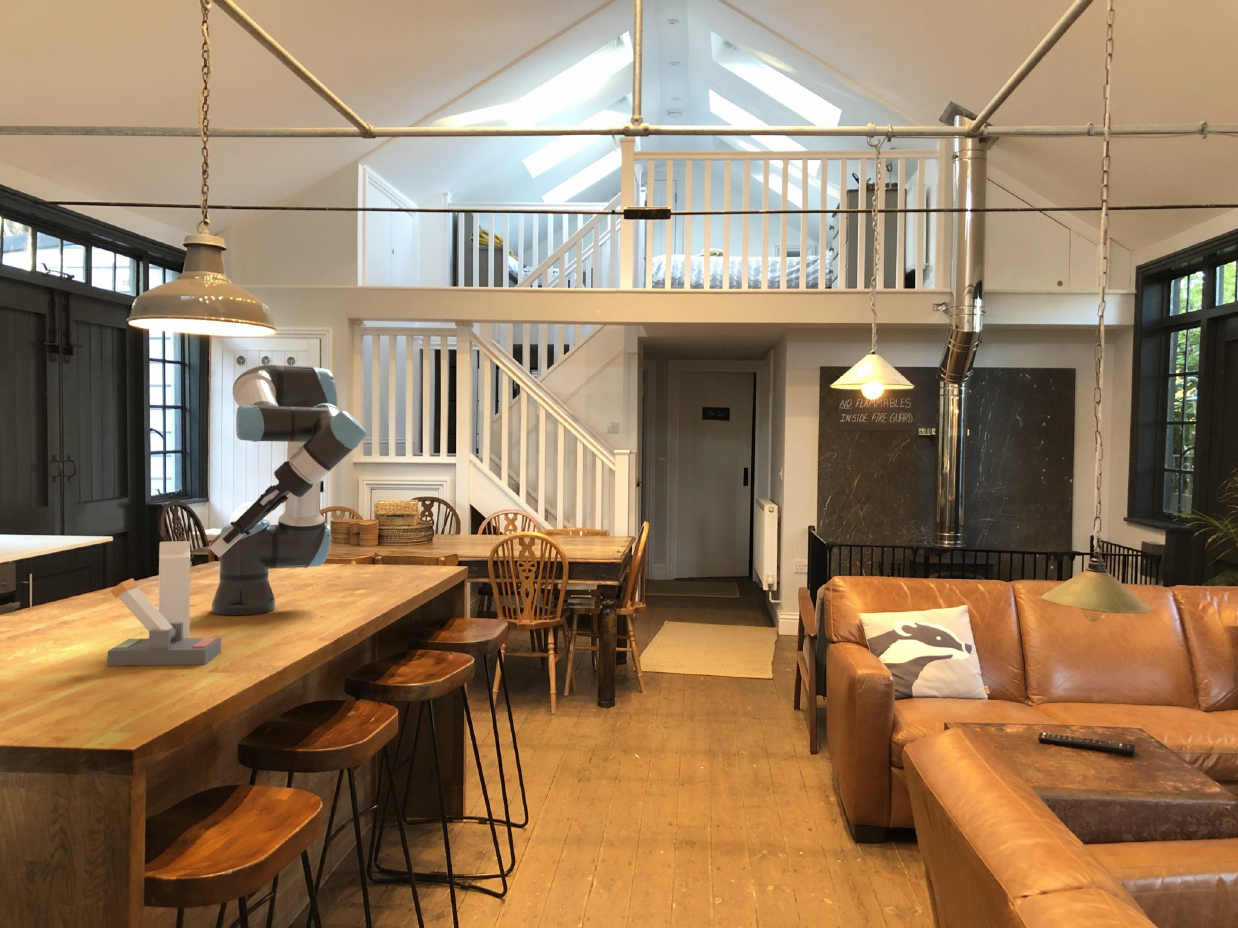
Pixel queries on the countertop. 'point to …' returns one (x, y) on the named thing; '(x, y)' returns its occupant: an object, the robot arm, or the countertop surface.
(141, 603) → the handle
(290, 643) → the countertop surface
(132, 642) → the switch plate
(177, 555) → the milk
